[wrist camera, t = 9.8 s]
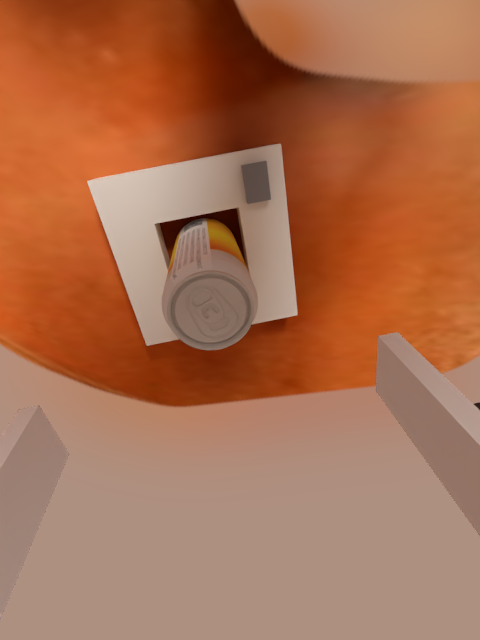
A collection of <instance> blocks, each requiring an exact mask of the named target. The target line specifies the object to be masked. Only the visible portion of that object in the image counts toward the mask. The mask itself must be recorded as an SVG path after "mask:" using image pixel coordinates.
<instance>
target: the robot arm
mask: <svg viewBox="0 0 480 640" xmlns="http://www.w3.org/2000/svg"><path fill="white" fill-rule="evenodd" d="M376 392H377V393H378V394H379V396H380V397H381V399H382V400H383V401H384V403H385V404H386V406H387V407H388V408H389V410H390V411H391V413H392V414H393V415H394V417H395V418H396V420H397V421H398V422H399V424H400V425H401V427H402V428H403V429H404V431H405V432H406V433H407V435H408V436H409V438H410V439H411V440H412V442H413V443H414V445H415V446H416V447H417V449H418V450H419V452H420V453H421V455H422V456H423V457H424V459H425V460H426V461H427V463H428V464H429V466H430V467H431V468H432V470H433V471H434V473H435V474H436V475H437V477H438V478H439V480H440V481H441V482H442V483H443V485H444V487H445V488H446V489H447V491H448V492H449V494H450V495H451V496H452V498H453V499H454V501H455V502H456V503H457V505H458V506H459V508H460V509H461V510H462V512H463V513H464V514H465V516H466V517H467V519H468V520H469V522H470V523H471V524H472V526H473V527H474V528H475V530H476V531H477V533H478V534H479V535H480V403H475V404H473V403H472V402H470V401H469V400H468V399H467V398H466V397H465V396H464V395H463V394H462V393H461V392H460V391H459V390H458V389H457V388H456V387H455V386H454V385H453V384H452V383H451V382H449V381H448V380H447V379H446V378H445V377H444V376H443V375H442V374H441V373H440V372H439V371H438V370H437V369H436V368H435V367H434V366H433V365H432V364H431V363H429V362H428V361H427V360H426V359H425V358H424V357H423V356H422V355H421V354H420V353H419V352H418V351H417V350H416V349H415V348H414V347H413V346H412V345H411V344H409V343H408V342H407V341H406V340H405V339H404V338H403V337H402V336H401V335H400V334H399V333H398V332H396V333H391V334H386V335H381V336H378V351H377V374H376ZM68 456H69V453H68V451H67V450H66V448H65V446H64V445H63V443H62V442H61V440H60V438H59V437H58V435H57V434H56V432H55V430H54V429H53V427H52V425H51V424H50V422H49V421H48V419H47V418H46V416H45V414H44V413H43V411H42V409H41V408H40V406H33V407H28V408H23V409H19V410H18V411H17V413H16V414H15V416H14V417H13V419H12V420H11V422H10V423H9V425H8V426H7V428H6V429H5V431H4V432H3V434H2V435H1V437H0V619H1V616H2V614H3V612H4V609H5V607H6V605H7V602H8V600H9V597H10V595H11V592H12V590H13V588H14V585H15V583H16V580H17V578H18V576H19V573H20V571H21V569H22V566H23V564H24V561H25V559H26V557H27V554H28V552H29V550H30V547H31V545H32V542H33V540H34V537H35V535H36V533H37V530H38V528H39V525H40V523H41V521H42V518H43V516H44V513H45V511H46V508H47V506H48V504H49V501H50V499H51V496H52V494H53V492H54V490H55V487H56V485H57V482H58V480H59V478H60V475H61V472H62V470H63V468H64V465H65V463H66V461H67V458H68Z"/></svg>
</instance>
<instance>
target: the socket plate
mask: <svg viewBox="0 0 480 640" xmlns="http://www.w3.org/2000/svg"><path fill="white" fill-rule="evenodd" d="M87 183H88V185H89V188H90V191H91V194H92V196H93V199H94V202H95V205H96V208H97V210H98V213H99V216H100V219H101V221H102V224H103V227H104V230H105V232H106V235H107V238H108V241H109V243H110V246H111V249H112V252H113V254H114V257H115V260H116V263H117V266H118V268H119V271H120V274H121V277H122V279H123V282H124V285H125V288H126V290H127V293H128V296H129V299H130V301H131V304H132V307H133V310H134V312H135V315H136V318H137V321H138V324H139V326H140V329H141V332H142V335H143V337H144V340H145V343H146V346H149V345H154V344H159V343H164V342H169V341H174V340H178V339H179V338H178V337H177V336H176V335H175V334H174V333H173V331H172V330H171V328H170V327H169V326H168V324H167V322H166V320H165V318H164V315H163V312H162V295H163V290H164V286H165V282H166V278H167V274H168V270H169V266H170V259H169V255H168V252H167V248H166V244H165V241H164V237H163V234H162V230H161V227H160V223H162V222H167V221H172V220H177V219H182V218H187V217H192V216H198V215H203V214H208V213H213V212H218V211H223V210H228V209H233V208H236V209H237V215H238V221H239V226H240V232H241V238H242V244H243V250H244V256H245V262H246V267H247V269H248V271H249V274H250V276H251V279H252V281H253V284H254V286H255V288H256V292H257V297H258V308H257V313H256V316H255V319H254V321H253V323H252V324H257V323H262V322H267V321H272V320H276V319H281V318H286V317H291V316H296V315H298V313H297V302H296V292H295V282H294V271H293V261H292V250H291V240H290V230H289V219H288V209H287V199H286V188H285V178H284V167H283V157H282V147H281V144H272V145H267V146H262V147H256V148H251V149H246V150H241V151H236V152H231V153H225V154H220V155H215V156H210V157H205V158H199V159H194V160H189V161H184V162H179V163H174V164H168V165H163V166H158V167H153V168H148V169H143V170H137V171H132V172H127V173H122V174H117V175H111V176H106V177H101V178H96V179H93V180H90V181H87Z"/></svg>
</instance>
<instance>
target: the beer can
mask: <svg viewBox="0 0 480 640" xmlns="http://www.w3.org/2000/svg"><path fill="white" fill-rule="evenodd" d="M257 308H258V297H257V292H256V288H255V286H254V284H253V281H252V279H251V276H250V274H249V271H248V269H247V267H246V264H245V262H244V259H243V257H242V255H241V252H240V250H239V247H238V245H237V242H236V240H235V238H234V235H233V234H232V232H231V231H230V229H229V228H228V227H227V226H225V225H224V224H223V223H221V222H219V221H217V220H214V219H209V218H201V219H196V220H194V221H191V222H189V223H188V224H186V225H185V226H184V227H183V228H182V229H181V230H180V232H179V233H178V236H177V238H176V241H175V245H174V249H173V253H172V257H171V262H170V266H169V270H168V274H167V278H166V282H165V286H164V290H163V295H162V312H163V315H164V318H165V320H166V322H167V324H168V326H169V327H170V328H171V330H172V331H173V333H174V334H175V335H176V336H177V337H178V338H179V339H180V340H181V341H182V342H184V343H185V344H187V345H189V346H191V347H194V348H197V349H201V350H219V349H223V348H226V347H229V346H231V345H233V344H235V343H236V342H238V341H239V340H240V339H241V338H242V337H243V336H244V335H245V334H246V333H247V332H248V330H249V329H250V327H251V325H252V323H253V321H254V319H255V316H256V313H257Z"/></svg>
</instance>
